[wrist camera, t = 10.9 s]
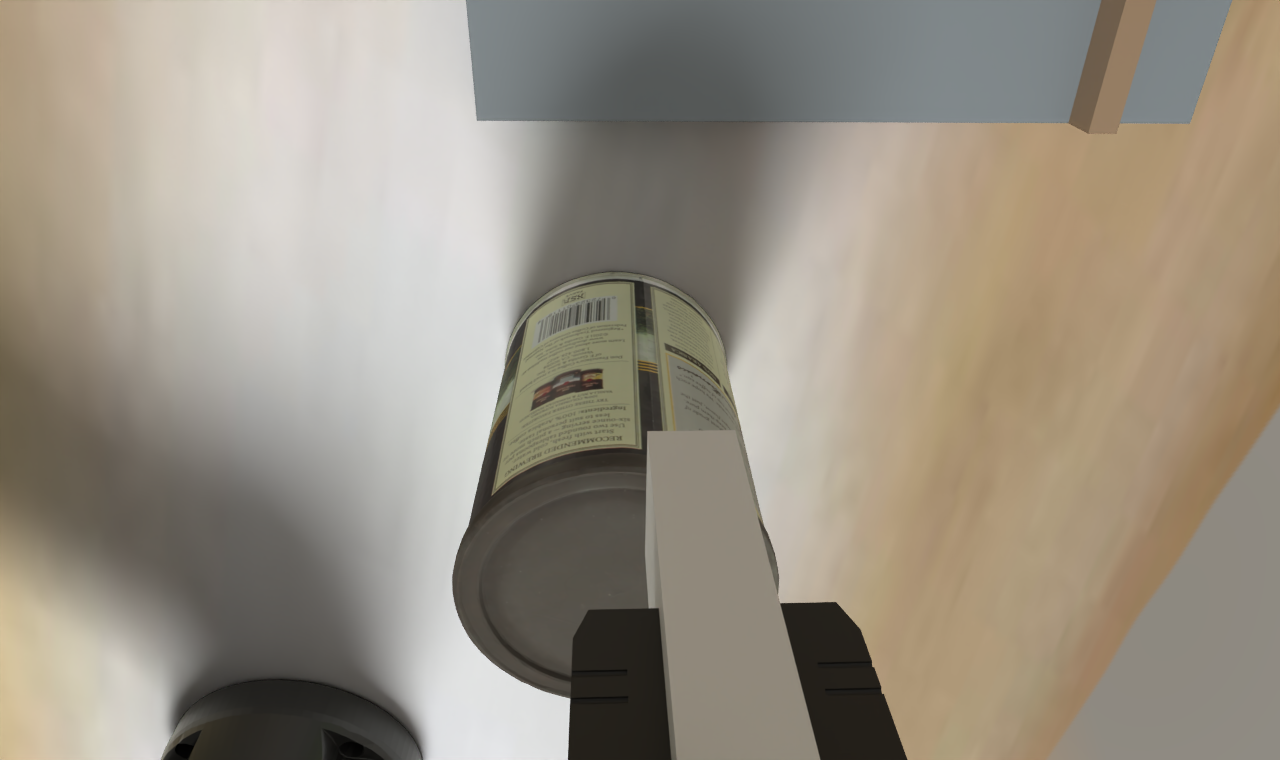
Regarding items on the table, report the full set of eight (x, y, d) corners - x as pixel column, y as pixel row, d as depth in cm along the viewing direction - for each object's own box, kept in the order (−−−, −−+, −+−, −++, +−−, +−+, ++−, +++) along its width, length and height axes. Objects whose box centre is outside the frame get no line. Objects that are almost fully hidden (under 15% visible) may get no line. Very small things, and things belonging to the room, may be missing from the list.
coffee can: (620, 496, 42) (620, 745, 30) (459, 374, 38) (384, 602, 26) (775, 371, 38) (846, 594, 26) (615, 221, 34) (611, 402, 22)
